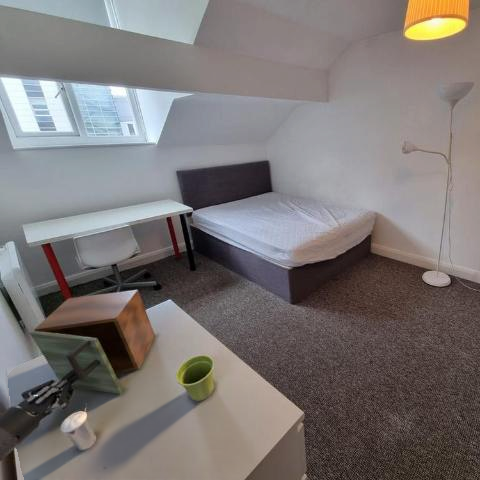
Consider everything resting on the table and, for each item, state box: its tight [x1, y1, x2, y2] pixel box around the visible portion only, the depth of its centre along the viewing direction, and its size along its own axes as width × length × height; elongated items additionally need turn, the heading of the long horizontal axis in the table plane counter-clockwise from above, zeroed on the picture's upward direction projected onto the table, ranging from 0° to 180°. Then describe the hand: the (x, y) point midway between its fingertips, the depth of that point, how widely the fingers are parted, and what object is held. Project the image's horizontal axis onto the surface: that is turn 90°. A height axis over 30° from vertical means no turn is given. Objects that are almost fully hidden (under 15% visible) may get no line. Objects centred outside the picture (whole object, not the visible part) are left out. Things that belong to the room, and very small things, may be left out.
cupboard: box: [33, 289, 156, 374], centre depth 83 cm, size 14×20×20 cm
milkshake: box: [60, 403, 97, 451], centre depth 62 cm, size 4×5×10 cm
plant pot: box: [175, 354, 215, 402], centre depth 73 cm, size 9×9×9 cm
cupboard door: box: [29, 330, 124, 395], centre depth 71 cm, size 6×20×20 cm, turn 80°
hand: (80, 370), depth 73 cm, fingers closed
